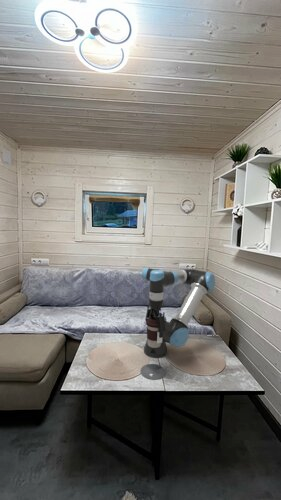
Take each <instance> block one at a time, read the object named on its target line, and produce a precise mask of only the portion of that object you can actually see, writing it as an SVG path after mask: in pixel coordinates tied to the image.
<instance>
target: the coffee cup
mask: <svg viewBox="0 0 281 500" xmlns="http://www.w3.org/2000/svg"><path fill="white" fill-rule="evenodd" d="M145 326H146V341H147V342H148V346H150V347H152V348H157V347H160V345H161V343H157V334H158V331H159V330H158V325H157V321H156V319H155V317H150V318H149V319H148V318H147V320H146V321H145Z"/></svg>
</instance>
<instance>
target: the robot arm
mask: <svg viewBox="0 0 281 500" xmlns="http://www.w3.org/2000/svg"><path fill="white" fill-rule="evenodd" d="M141 278H142V279H143V280H144V281H147V282H149V293H148V294H149V299H148V305H147V307H146V308H147V309H146V314H145V319H144V320H145V322H146V320H147V319H149V318H150V317H155V319H156V321H157V325H158V330H159V331H158V334H157V343H161V345H160V347H157V348H152V347H150V346H148V342H147V340H146V341H145V344H144V347H143V352H144V354H145V355H146V356H148V357H150V358H155V359H159V358H160V359H161V358H163V357H166V356H167V355H168V347H167V344H170V345H171V346H174V347H177V348H180V347H183V346H185V344H186V343H187V341H188V340H189V336H190V331H189V326H188V325H189V323H190V321H191V319H192V317H193V316H194V314H195V311H196V310H197V308H198V306H199V304H200V303H201V300H202V298H203V296H204V295H207V294H208V292H209V291H213V290H214V289H215V285H216V278H215V274H213V273H212V272H211V271H210V272H209V271H204V270H198V269H193V268H190V269H189V268H188V269H182V268H181V269H178V270H175V269H173V270H172V269H160V268H158V269H157V268H150V267H145V268H143V269H142V271H141ZM177 283H179V284H185V285H188V286H190V287H191V288H190V291H189V292H188V294H187V295H186V297H185V299H184V301H183V303H182V305H181V306H180V308H179V310H178V312H177V314H176V315H175V317H172V318H171V319H170V320H169V321H167V317H166V316H165V312H164V311H162V307H163V306H164V304H163V303H164V289H165V287H169V286H173V285H176V284H177Z"/></svg>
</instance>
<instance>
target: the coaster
mask: <svg viewBox="0 0 281 500" xmlns="http://www.w3.org/2000/svg"><path fill="white" fill-rule="evenodd" d="M166 373H167V372H166V369H165V368H164V367H163V366H162V365H160V364H158V363H157V364H156V363H148V364H147V363H146V364H144V365H142V367H141V368H140V375H141V376H142V377H144V379H148V380H153V381H156V380H160V379H163V378H164V377H165V376H166Z"/></svg>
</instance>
